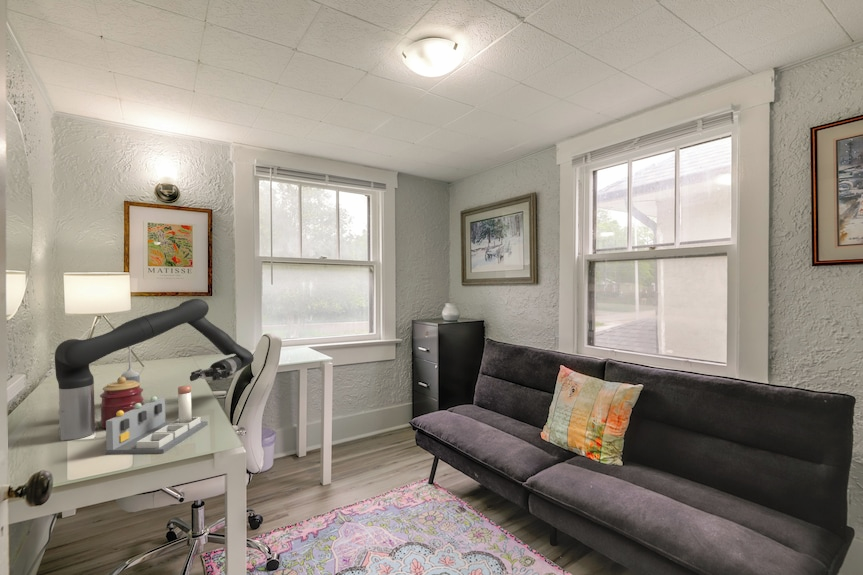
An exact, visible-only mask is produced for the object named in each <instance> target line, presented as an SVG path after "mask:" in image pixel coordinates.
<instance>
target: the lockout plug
mask: <svg viewBox="0 0 863 575" xmlns="http://www.w3.org/2000/svg"><path fill="white" fill-rule="evenodd" d="M177 400H178V401H177V404H178V408H177V409H178V411H177V412H178V419H179V423H190V422H191V421H192V417H193V416H192V386H191V385H182V386H178V387H177Z"/></svg>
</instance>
